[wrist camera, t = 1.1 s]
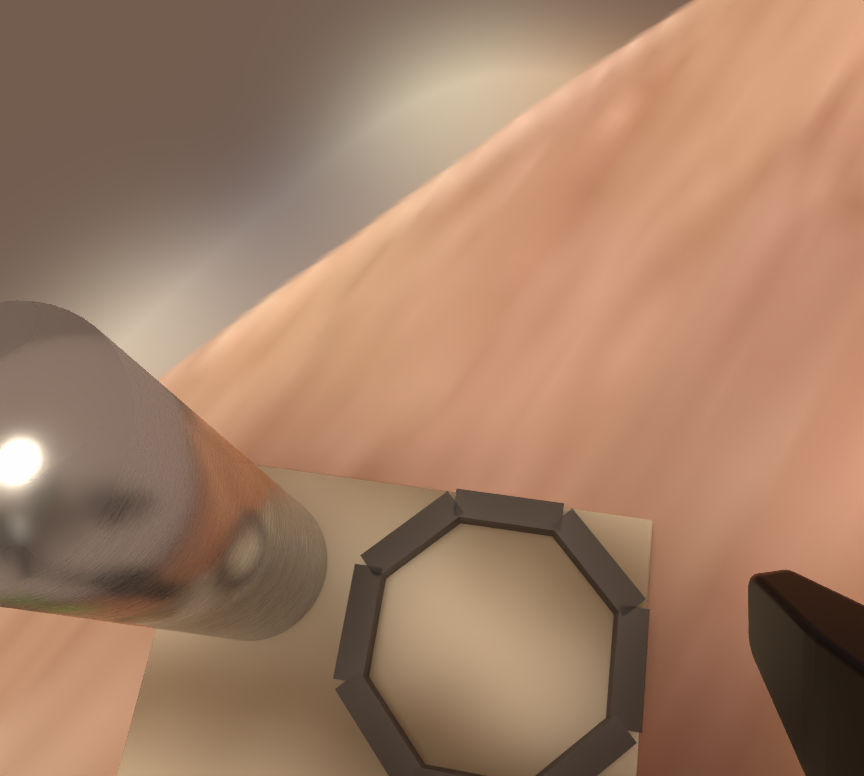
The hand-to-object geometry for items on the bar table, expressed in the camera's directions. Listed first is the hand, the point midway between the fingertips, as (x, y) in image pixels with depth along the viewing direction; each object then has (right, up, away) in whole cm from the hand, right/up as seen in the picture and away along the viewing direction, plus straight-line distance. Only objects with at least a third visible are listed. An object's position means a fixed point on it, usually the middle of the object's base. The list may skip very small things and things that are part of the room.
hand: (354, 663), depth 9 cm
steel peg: (-4, -2, +14) cm, 15 cm away
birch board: (-1, -7, +13) cm, 15 cm away
